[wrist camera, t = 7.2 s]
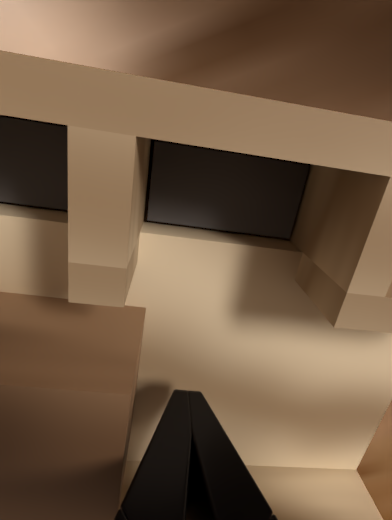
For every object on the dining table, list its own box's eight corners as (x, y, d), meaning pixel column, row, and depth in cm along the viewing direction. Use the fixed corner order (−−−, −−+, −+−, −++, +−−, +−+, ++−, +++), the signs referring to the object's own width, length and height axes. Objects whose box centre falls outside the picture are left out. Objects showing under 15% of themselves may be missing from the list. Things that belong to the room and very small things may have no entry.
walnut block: (131, 427, 10) (114, 541, 7) (-34, 416, 9) (-124, 535, 7) (146, 307, 8) (130, 394, 5) (-54, 285, 8) (-184, 369, 5)
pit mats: (287, 236, 9) (289, 238, 9) (-58, 191, 8) (-64, 193, 8) (306, 164, 8) (309, 165, 8) (-71, 105, 7) (-78, 104, 7)
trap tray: (336, 458, 13) (385, 556, 10) (-180, 435, 10) (-321, 553, 8) (476, 156, 8) (645, 167, 5) (-361, 10, 6) (-864, -107, 3)
